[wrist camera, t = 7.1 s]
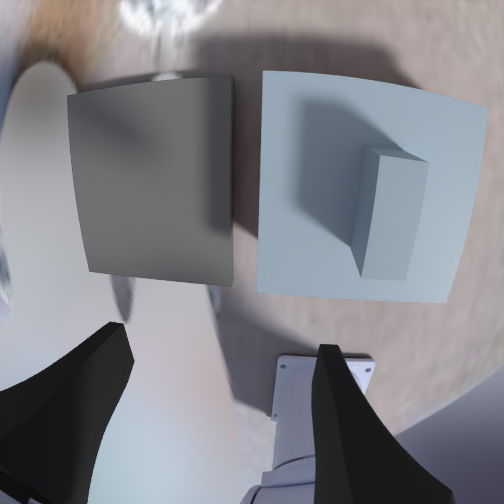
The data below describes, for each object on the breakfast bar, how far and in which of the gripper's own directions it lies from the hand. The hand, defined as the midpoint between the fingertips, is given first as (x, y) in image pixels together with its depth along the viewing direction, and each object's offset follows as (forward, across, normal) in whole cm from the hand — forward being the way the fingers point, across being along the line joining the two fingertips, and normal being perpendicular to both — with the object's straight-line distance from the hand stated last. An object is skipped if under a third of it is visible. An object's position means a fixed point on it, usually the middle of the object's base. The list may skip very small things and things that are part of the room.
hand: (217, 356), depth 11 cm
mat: (+11, +7, -3) cm, 13 cm away
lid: (+7, -6, -4) cm, 10 cm away
